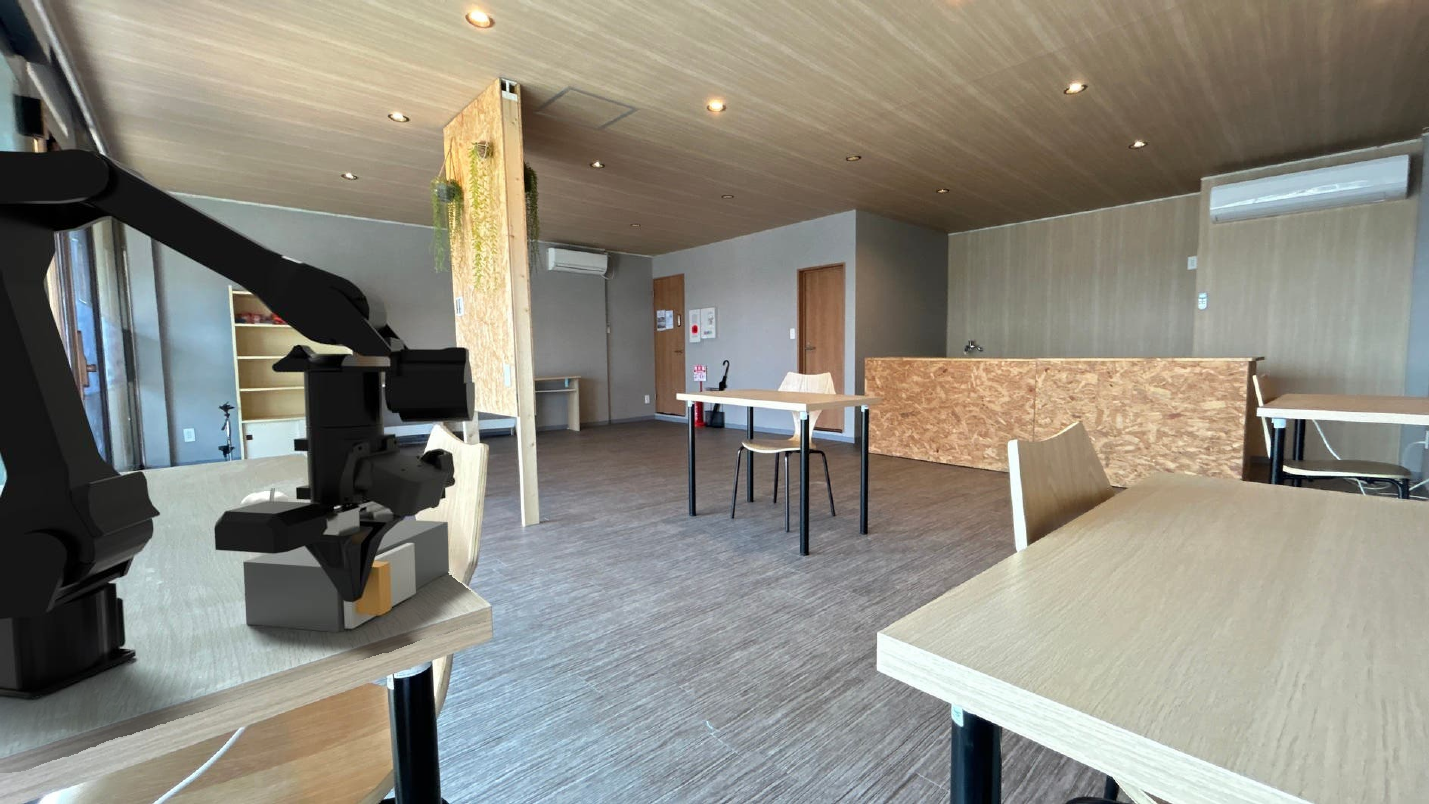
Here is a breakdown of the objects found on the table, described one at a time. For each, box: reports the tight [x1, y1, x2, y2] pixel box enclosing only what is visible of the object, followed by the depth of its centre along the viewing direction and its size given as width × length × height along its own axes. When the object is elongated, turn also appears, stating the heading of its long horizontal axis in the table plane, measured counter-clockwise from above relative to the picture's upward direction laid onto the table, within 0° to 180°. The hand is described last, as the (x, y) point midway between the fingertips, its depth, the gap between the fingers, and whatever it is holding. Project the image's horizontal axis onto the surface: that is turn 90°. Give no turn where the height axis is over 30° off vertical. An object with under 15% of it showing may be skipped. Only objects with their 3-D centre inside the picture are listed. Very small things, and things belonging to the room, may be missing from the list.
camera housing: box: [242, 519, 450, 633], centre depth 61 cm, size 17×10×7 cm, turn 170°
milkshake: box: [240, 487, 289, 560], centre depth 69 cm, size 4×5×10 cm
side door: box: [344, 543, 417, 630], centre depth 56 cm, size 8×3×6 cm, turn 170°
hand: (353, 600), depth 50 cm, fingers closed
